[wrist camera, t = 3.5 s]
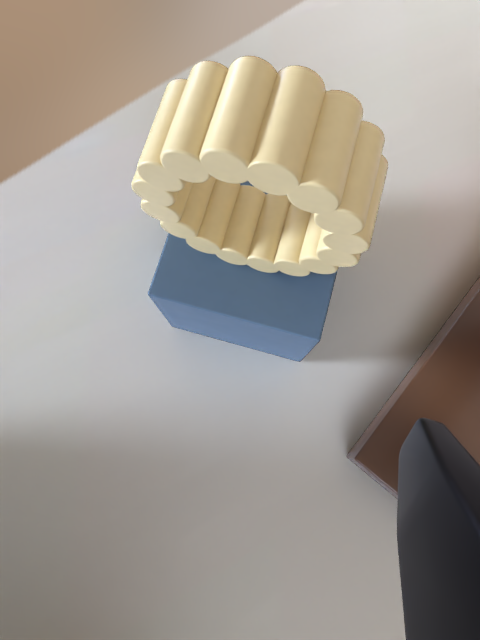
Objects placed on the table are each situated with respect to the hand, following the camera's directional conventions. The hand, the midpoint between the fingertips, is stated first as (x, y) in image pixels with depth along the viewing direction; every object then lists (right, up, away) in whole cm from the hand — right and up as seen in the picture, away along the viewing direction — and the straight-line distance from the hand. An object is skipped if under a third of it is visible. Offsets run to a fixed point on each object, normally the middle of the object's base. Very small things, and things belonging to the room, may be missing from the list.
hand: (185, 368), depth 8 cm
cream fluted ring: (+2, +4, +8) cm, 9 cm away
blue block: (+2, +3, +13) cm, 14 cm away
